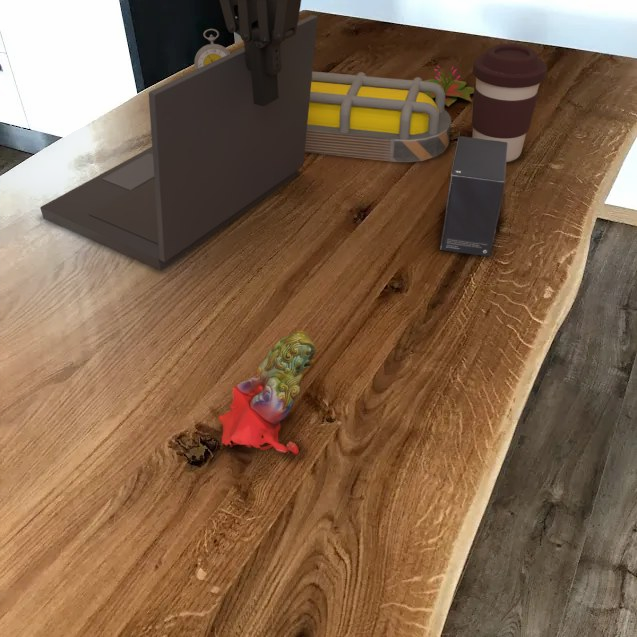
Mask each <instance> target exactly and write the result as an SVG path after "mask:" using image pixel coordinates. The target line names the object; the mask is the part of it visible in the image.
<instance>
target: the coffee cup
mask: <svg viewBox="0 0 637 637" xmlns="http://www.w3.org/2000/svg"><path fill="white" fill-rule="evenodd" d="M547 71H548V65H547V63H546V62H545V60H543V59H541V58H540V57H539V55H538V52H537V51H536V50H535V49H533V48H531V47H530V46H527V45H522V44H516V43H500V44H495V45H492V46H490V47H488V48H487V50H486V51H485V53H482V54H480V55H478V56H476V58H475V59H474V60H473V64H472V75H473V76H474V78H475V84H474V85H473V88H474V93H473V98H472V113H471V114H472V115H471V126H472V134H471V138H478V139H485V140H493V141H502V142H507V143H508V147H507V161H506V163H510V162H513V161H515V160H517V159H518V158H519V157H521V154H522V152H523V147H524V143H525V140H526V137H527V133H528V132H529V129H530V127H531V123H532V120H533V116H534V112H535V109H536V105H537V101H538V98H539V92H540V91H539V86H540V84H541V83H543V82H544V81H545V80H546V76H547Z"/></svg>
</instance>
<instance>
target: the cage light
mask: <svg viewBox="0 0 637 637" xmlns="http://www.w3.org/2000/svg"><path fill="white" fill-rule="evenodd" d="M424 81H425V80H423V79H422V78H421V77H419V76H415V77H414V78H413V79H401V78H390V77H381V76H380V77H379V76H377V77H376V76H368V75H367V74H366V73H365V72H362V71H359V72H358V73H357V74H346V73H345V74H344V73H335V72H325V71H324V72H322V71H312V81H311V91H310V101H309V112H308V122H307V132H306V142H305V153H309V154H310V153H311V154H319V155H320V154H321V155H329V156H337V157H346V158H354V159H366V160H373V161H381V162H382V161H383V162H392V163H415V162H424V161H427V160H430V159H433V158H436V157H438V156H440V155H441V154H443V153H444V152H445V151H446V150H447V148H448V146H449V145H450V136H451V128H452V119H451V118H452V117H451V115H450V114H449V113H448V112H447V110H446V109H445V106H446V104H445V92H444V89H443V88H442V87H441V86H440V85H439V84H437V83H434V82H424ZM408 90H409V91H408ZM422 92H432V93H434V94H435V96H436V97H434V98H435V100H434V99H433V98H430V97H429V96H427V95H426V94H424V93H422Z"/></svg>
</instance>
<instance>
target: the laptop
mask: <svg viewBox="0 0 637 637" xmlns="http://www.w3.org/2000/svg"><path fill="white" fill-rule="evenodd" d="M297 176H299V169H298V170H297V171H296V172H294V173H293V174H291V175H290V176H288V177H287V178H285V179H284V180H283V181H281V182H280V183H278V184H277V185H275V186H274V187H272V188H271V189H270V190H268V191H267V192H265V193H264V194H262V195H261V196H260V197H258V198H257V199H255V200H254V201H252V202H251V203H249V204H248V205H247V206H245V207H244V208H242V209H241V210H239V211H238V212H236V213H235V214H234V215H232V216H231V217H229V218H228V219H226V220H225V221H223V222H222V223H221V224H219V225H218V226H216V227H215V228H213V229H212V230H211V231H209V232H208V233H206V234H205V235H203V236H202V237H200V238H199V239H198V240H196V241H195V242H193V243H192V244H190V245H189V246H187V247H186V248H185V249H183V250H182V251H180V252H179V253H177V254H176V255H174V256H173V257H172V258H170V259H169V260H167V261H166V262H163V261H161V260H160V256H159V241H158V226H157V211H156V196H155V181H154V166H153V151H152V146H150V147H148V148H147V149H145V150H143V151H141V152H138V154H136V155H133V156H132V157H130V158H128V159H126V160H124V161H122V162H121V163H119V164H117V165H115V166H113V167H112V168H109V169H108V170H106V171H104V172H102V173H100V174H98V175H97V176H95V177H93V178H91V179H90V180H87V181H86V182H83V183H82V184H80V185H78V186H76V187H74V188H73V189H70V190H69V191H67V192H65V193H64V194H61V195H60V196H58V197H56V198H55V199H52V200H51V201H48V202H47V203H45V204H44V205H41V206H40V207H39V209H40V212H41V216H42V219H43V220H46V221H48V222H50V223H52V224H54V225H57V226H59V227H61V228H64V229H65V230H68V231H70V232H72V233H75V234H76V235H79V236H82V237H83V238H85V239H88V240H90V241H93V242H95V243H97V244H99V245H102V246H103V247H106V248H108V249H110V250H113V251H115V252H116V253H119V254H121V255H123V256H125V257H127V258H131V259H133V260H135V261H137V262H139V263H142V264H143V265H146V266H148V267H151V268H153V269H155V270H157V271H159V272H162V271H163V270H165V269H166V268H168V267H169V266H171V265H172V264H174V263H175V262H176V261H178V260H179V259H181V258H182V257H183V256H186V254H188V253H189V252H191V251H192V250H193V249H195V248H196V247H198V246H199V245H200V244H202V243H204V242H205V241H207V240H208V239H209V238H210V237H212V236H213V235H215V234H216V233H218V232H219V231H220V230H222V229H223V228H224V227H226V226H228V225H229V224H230V223H232V222H234V221H235V220H236V219H238V218H239V217H241V216H242V215H243V214H245V213H246V212H248V211H249V210H250V209H252V208H254V207H255V206H256V205H257V204H259V203H261V202H263V200H265V199H266V198H268V197H269V196H271V195H272V194H273V193H275V192H276V191H277V190H279V189H280V188H282V187H283V186H284V185H287V183H289V182H290V181H292V180H293V179H295V178H296V177H297Z"/></svg>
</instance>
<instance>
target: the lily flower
mask: <svg viewBox="0 0 637 637" xmlns="http://www.w3.org/2000/svg"><path fill="white" fill-rule="evenodd" d="M454 67H455V66H452V67H451V69H450V72H449V73H447V71H445V74H444V72H443V70H442V69H441V67H440V66H439V65H437V68H438V69H439V70H440V71H441V72H440V71H439V70H438V69H436V68H434V69H433V70H434V71H435V72H437V76H435V77H434V78H435V79H434V78H431V79H430V78H429V79H426V80H423V81H424V82H434V83H437V84H439V85H440V86H441V87H442V88H443V89H444V92H445V106H447V107H448V108H449V107H450V106H451V105H452V104H453V103H455V102H456V101H457V100H458V98H461V99H463V100H466V101H469V102H471V103H473V100H472V98H471V94H474V87H472V86H466V85H467V81H463V80H458V79H459V78H460V77H461V75H458V76H456V78H455V79H452V78H453V77H454V76H455V75H456V72H457V70H458V68H456V69H454ZM453 69H454V70H453ZM452 70H453V71H452ZM408 91H409V90H408ZM422 93H424V94H426V95H427V96H429V97H430V98H431V99H434V98H436V96H435V94H434V93H432V92H422Z"/></svg>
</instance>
